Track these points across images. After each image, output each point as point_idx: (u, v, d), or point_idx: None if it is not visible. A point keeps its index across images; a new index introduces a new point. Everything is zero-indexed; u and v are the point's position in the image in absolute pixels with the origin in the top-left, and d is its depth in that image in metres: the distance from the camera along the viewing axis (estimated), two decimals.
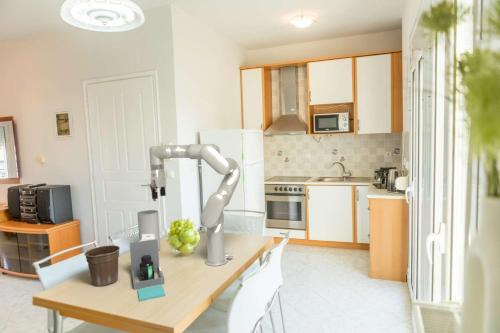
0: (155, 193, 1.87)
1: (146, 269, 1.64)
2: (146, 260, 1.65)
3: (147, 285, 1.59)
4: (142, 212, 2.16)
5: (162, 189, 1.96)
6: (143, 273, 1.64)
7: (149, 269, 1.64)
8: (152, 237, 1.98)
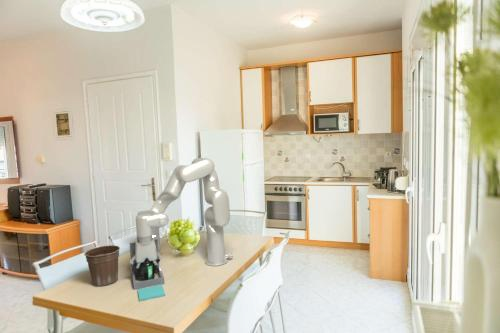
0: None
1: (146, 269, 1.64)
2: (146, 260, 1.65)
3: (147, 285, 1.59)
4: (142, 212, 2.16)
5: (139, 267, 1.66)
6: (142, 273, 1.64)
7: (149, 269, 1.64)
8: None
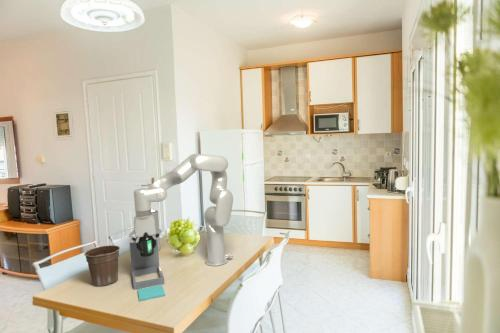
0: None
1: (146, 243, 1.63)
2: (145, 234, 1.64)
3: (147, 285, 1.59)
4: None
5: (138, 242, 1.65)
6: (142, 247, 1.63)
7: (148, 244, 1.64)
8: None
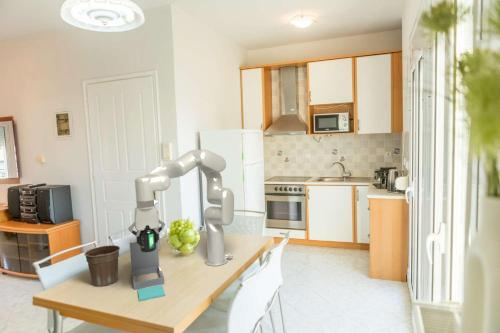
0: None
1: (147, 237, 1.47)
2: (147, 227, 1.47)
3: (147, 285, 1.59)
4: None
5: (139, 236, 1.49)
6: (143, 242, 1.47)
7: (150, 238, 1.47)
8: None
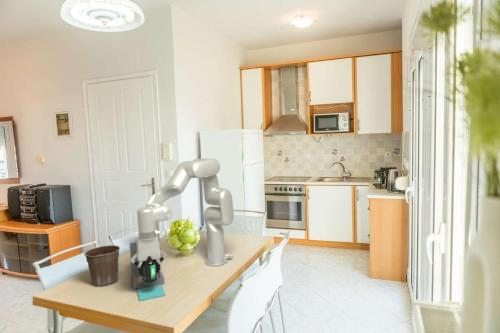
0: None
1: (149, 268, 1.48)
2: (149, 258, 1.48)
3: (147, 285, 1.59)
4: None
5: None
6: (145, 272, 1.48)
7: (152, 269, 1.48)
8: None
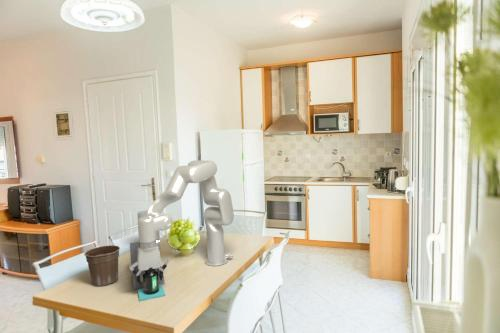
0: None
1: (150, 280, 1.48)
2: (150, 270, 1.49)
3: None
4: (142, 212, 2.16)
5: (139, 274, 1.50)
6: (146, 284, 1.48)
7: (153, 280, 1.49)
8: None
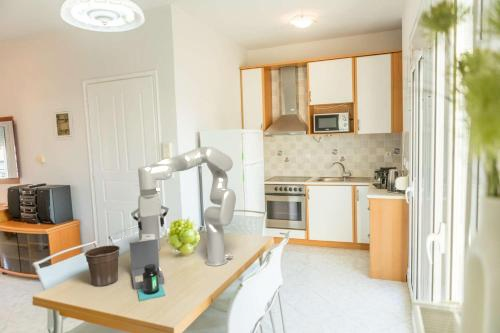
0: None
1: (150, 280, 1.48)
2: (150, 270, 1.49)
3: None
4: None
5: (140, 221, 1.57)
6: (146, 284, 1.48)
7: (153, 280, 1.49)
8: (152, 237, 1.98)
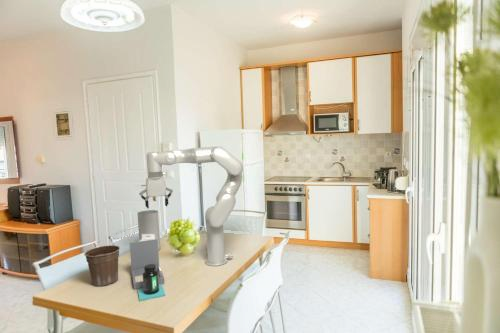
0: None
1: (150, 280, 1.48)
2: (150, 270, 1.49)
3: None
4: (142, 212, 2.16)
5: (147, 200, 1.76)
6: (146, 284, 1.48)
7: (153, 280, 1.49)
8: (152, 237, 1.98)
